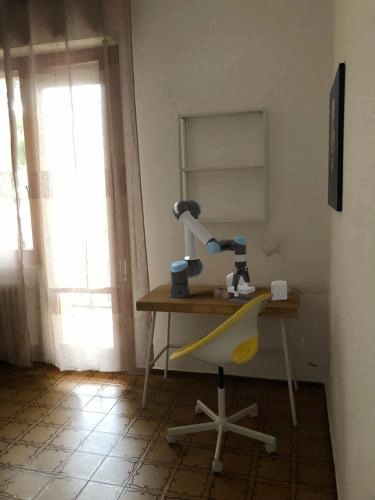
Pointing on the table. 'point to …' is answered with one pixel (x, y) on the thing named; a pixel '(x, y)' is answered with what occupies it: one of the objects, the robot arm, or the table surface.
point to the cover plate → (242, 289)
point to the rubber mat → (242, 299)
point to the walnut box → (223, 293)
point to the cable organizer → (230, 278)
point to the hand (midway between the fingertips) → (241, 294)
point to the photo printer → (279, 290)
